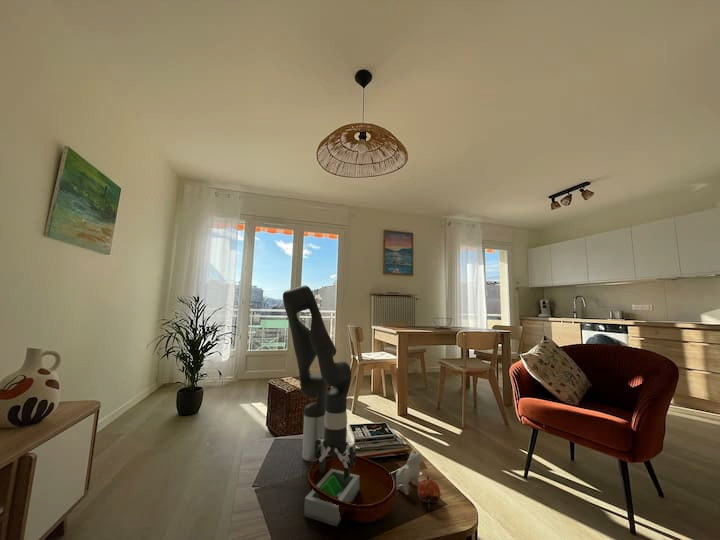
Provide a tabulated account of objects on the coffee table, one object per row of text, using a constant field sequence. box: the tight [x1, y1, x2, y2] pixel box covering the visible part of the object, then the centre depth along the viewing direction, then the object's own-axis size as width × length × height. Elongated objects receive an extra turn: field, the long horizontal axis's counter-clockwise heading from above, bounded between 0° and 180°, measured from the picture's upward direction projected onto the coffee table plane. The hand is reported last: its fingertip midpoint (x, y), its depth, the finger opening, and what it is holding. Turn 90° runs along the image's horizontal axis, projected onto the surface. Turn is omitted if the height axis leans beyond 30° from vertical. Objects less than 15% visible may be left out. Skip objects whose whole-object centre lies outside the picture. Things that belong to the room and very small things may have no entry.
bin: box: [303, 468, 360, 527], centre depth 97 cm, size 18×11×5 cm, turn 158°
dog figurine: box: [396, 449, 423, 496], centre depth 108 cm, size 5×13×11 cm, turn 137°
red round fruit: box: [417, 475, 441, 508], centre depth 98 cm, size 7×7×10 cm
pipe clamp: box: [315, 475, 342, 499], centre depth 98 cm, size 11×4×5 cm
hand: (334, 475), depth 98 cm, fingers open, 8 cm apart
